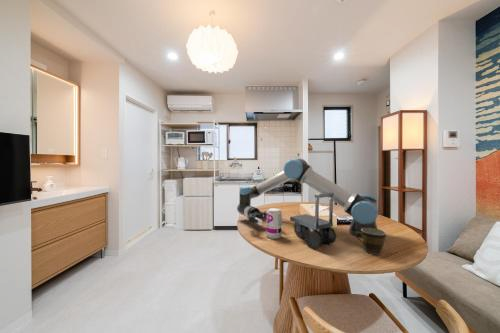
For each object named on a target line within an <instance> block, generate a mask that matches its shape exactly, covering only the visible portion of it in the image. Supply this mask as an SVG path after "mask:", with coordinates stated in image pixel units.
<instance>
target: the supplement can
mask: <svg viewBox="0 0 500 333" xmlns="http://www.w3.org/2000/svg"><path fill="white" fill-rule="evenodd" d="M266 212H267V218H266V224H265V225H266V231H265V232H266V234H265V235H266V237H267V238H269V239H272V240H275V239H280V238H281V237H282V223H283V214H282V209H281V208H277V207H276V208H275V207H270V208H267V210H266Z"/></svg>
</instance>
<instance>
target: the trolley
mask: <svg viewBox="0 0 500 333" xmlns="http://www.w3.org/2000/svg"><path fill="white" fill-rule="evenodd" d="M333 196H334V193H323V194H321V193H316V194H314V198H315V204H314V207H315V209H314V215H311V214H308V213H305V214H299V215H293V216H289V221H291V222H294V224H293V231H294V233H295V235H296V236H297V237H298V238H300V239H304V241H305V244H306V245H307V247H308V248H310V249H312V250H314V249H319V248H321V246H322V244H323V245H327V246H328V245H333V244H335V242H336V240H337V234H336V231H335V230H334V228H333V226H334V222H333V219H334V218H333V212H334V210H333V208H334V201H333ZM328 197H330V199H329V202H328V203H329V204H328V206H329V207H328V209H329V210H328V214H329V215H328V220H326V219H323V218H320V217H319V214H320V213H319V210H320V199H321V198H328Z"/></svg>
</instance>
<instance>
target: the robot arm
mask: <svg viewBox="0 0 500 333" xmlns="http://www.w3.org/2000/svg"><path fill="white" fill-rule="evenodd" d="M290 180H295V181H296V182H298V183H299V184H301V185H302V184H305V185H307V186H309V187H310V188H312V189H313V190H315V191H316V192H317V193H319V194H323V193H334V196H333V203H336V204H337V205H339V206H341V207H342V208H343V211H344V212H345V213H346V214H347V215H349V216H351V218H352V220H351V222H350V226H349V228H348V232H349V234H350V235H351V236H354V237H356V236H357V237H358V238H360V239H362V235H361V234H360V233H357V234H356V236H355V233H356V232H361V229H362V228H374V229H379V228H378V226H377V223H376V222H377V218H378V217H379V210H378V206H377V202H378V200H377V196H376V195H372V194H361V193H357V192H356V193H351V192H349V191H348V190H346V189H345V188H343V187H341V186H340V185H338V184H336V183H334V182H333V181H331V180H330V179H328V178H326V177H325V176H323V175H321V174H320V173H318V172H316V171H314V170H313V167H312V166H311V165H309V163H308V162H307V161H306V160H304V159H302V158H296V157H295V158H294V157H293V158H290V159H288V160H286V162H285V163H284V165H283V170H282V171H280V172H278V173H276V174H275V175H272V176H271V177H269V178H268V179H266V180H262V181H261V182H259V183H258V184H256V185H253V187H251V186H247V185H246V186H245V185H244V186H240V187H239V203H238V204H237V206H236V211H237V213H239V214H240V215H242V216H244V217H246V219H248V223H252V224H253V225H254V224H257V225H259V226H262V227H263V220H262V219H267V210H266V211H264V212H263V211H261V210H260V209H259V208H257V207H254V206H253V205H252V204H251V202H252V200H253V199H256V198H258V197H260V196H261V195H263V194H265V193H267V192H269V191H271V190H272V189H275V188H277V187H279V186H280V185H283V184H284V183H286V182H289V181H290ZM327 198H328V199H329V200H330V197H327Z"/></svg>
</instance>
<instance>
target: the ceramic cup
mask: <svg viewBox="0 0 500 333" xmlns="http://www.w3.org/2000/svg"><path fill="white" fill-rule="evenodd" d="M357 233H360V234H361V235H362V238H360V237H357V236H356V234H357ZM386 236H387V233H386V232H385V231H384V230H381V229H379V228H378V229H374V228H362V229H361V232H356V233H355V236H354V237H355V238H356V239H357V240H359V241H360V242H361V243H362V245H363V251H364V252H365V253H366V254H367V253H368V255H370V254H371V256H377V255H379V256H380V255H382V252H383V249H384V244H385V242H386Z"/></svg>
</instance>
